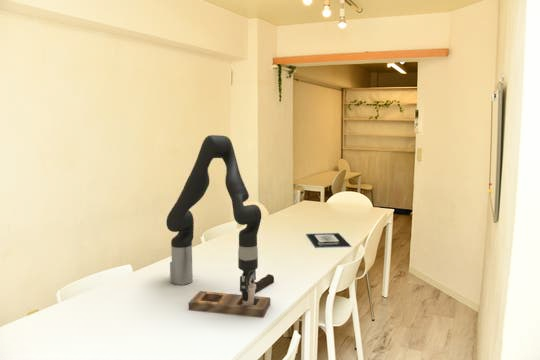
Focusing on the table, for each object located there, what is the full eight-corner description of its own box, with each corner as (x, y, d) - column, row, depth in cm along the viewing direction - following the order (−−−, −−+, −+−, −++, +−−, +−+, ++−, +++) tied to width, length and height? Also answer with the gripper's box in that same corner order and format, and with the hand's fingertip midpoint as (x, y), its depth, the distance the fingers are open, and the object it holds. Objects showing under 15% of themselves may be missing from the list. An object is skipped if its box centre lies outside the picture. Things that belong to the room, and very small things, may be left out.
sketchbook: (315, 249, 259) (315, 245, 259) (305, 236, 288) (305, 232, 288) (351, 248, 261) (351, 244, 261) (338, 234, 291) (338, 231, 290)
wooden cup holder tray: (188, 309, 174) (188, 301, 174) (200, 297, 186) (200, 290, 185) (263, 317, 167) (263, 309, 167) (270, 304, 179) (270, 297, 179)
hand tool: (267, 281, 205) (267, 271, 205) (274, 283, 203) (274, 273, 203) (243, 295, 190) (243, 284, 189) (251, 297, 187) (251, 286, 187)
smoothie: (256, 305, 178) (256, 271, 176) (256, 312, 172) (256, 277, 170) (240, 305, 178) (240, 271, 176) (239, 312, 172) (239, 277, 170)
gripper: (243, 250, 180) (244, 289, 182) (233, 261, 166) (233, 302, 168) (261, 251, 178) (261, 290, 180) (252, 262, 164) (252, 304, 166)
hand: (248, 296), depth 174 cm, fingers open, 8 cm apart
